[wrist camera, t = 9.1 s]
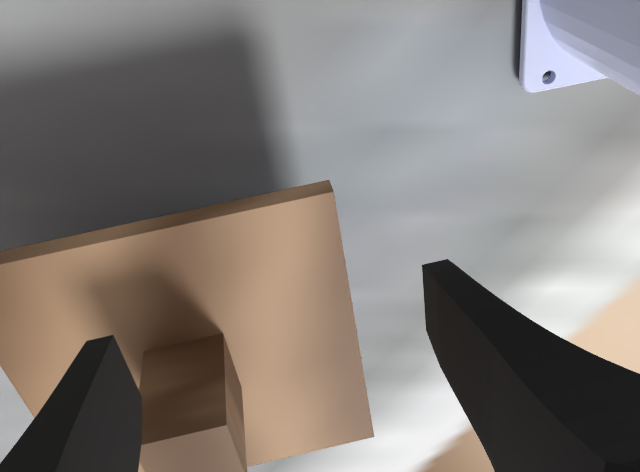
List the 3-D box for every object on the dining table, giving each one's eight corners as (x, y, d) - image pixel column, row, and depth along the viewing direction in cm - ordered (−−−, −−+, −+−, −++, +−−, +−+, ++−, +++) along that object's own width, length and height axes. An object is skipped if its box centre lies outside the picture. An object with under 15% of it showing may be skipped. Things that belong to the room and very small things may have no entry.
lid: (329, 179, 19) (361, 266, 15) (369, 421, 26) (399, 525, 22) (-49, 261, 19) (-118, 374, 15) (93, 486, 25) (72, 606, 21)
